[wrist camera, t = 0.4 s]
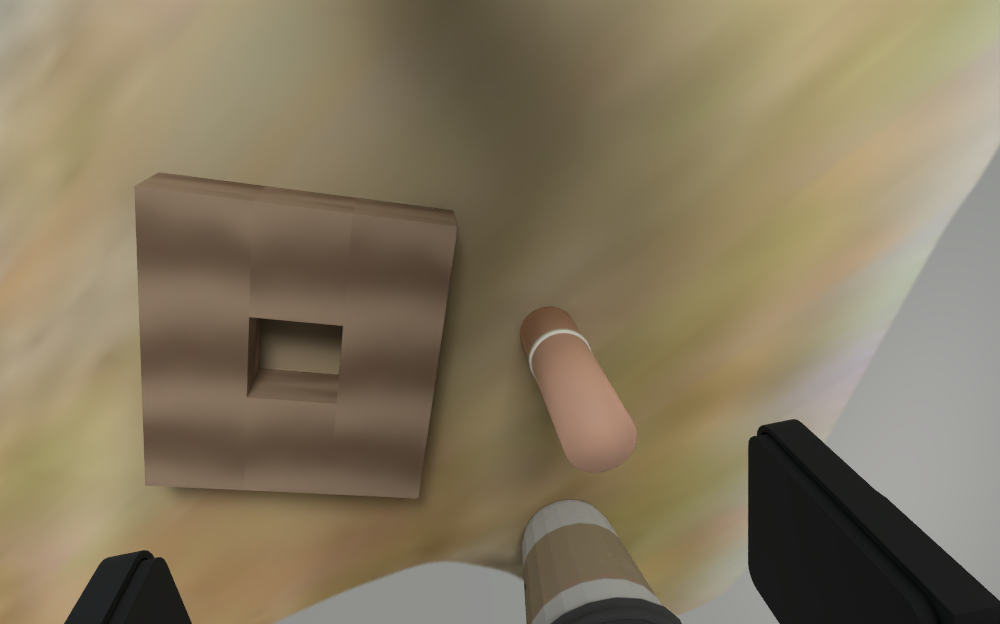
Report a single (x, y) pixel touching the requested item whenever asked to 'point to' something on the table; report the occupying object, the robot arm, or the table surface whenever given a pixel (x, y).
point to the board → (291, 297)
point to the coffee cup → (583, 571)
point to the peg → (577, 393)
